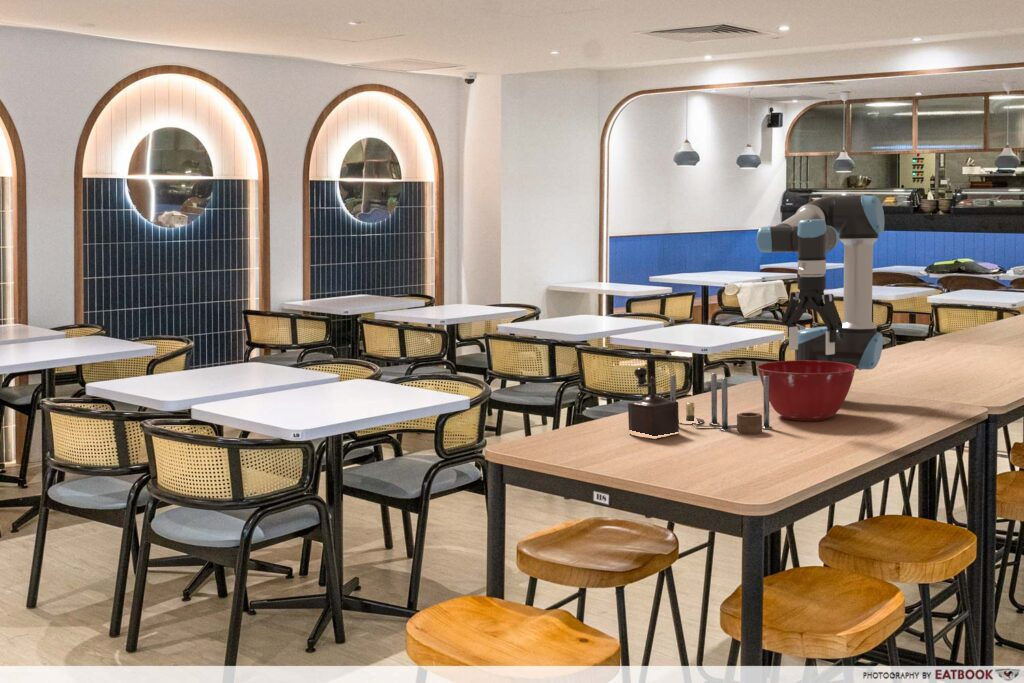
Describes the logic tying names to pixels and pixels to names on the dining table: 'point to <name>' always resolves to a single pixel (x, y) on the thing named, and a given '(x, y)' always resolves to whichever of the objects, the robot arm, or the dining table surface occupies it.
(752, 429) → the napkin ring
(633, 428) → the brown coffee grinder
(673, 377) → the wire course
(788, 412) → the mixing bowl
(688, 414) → the brass peg
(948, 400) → the dining table surface
